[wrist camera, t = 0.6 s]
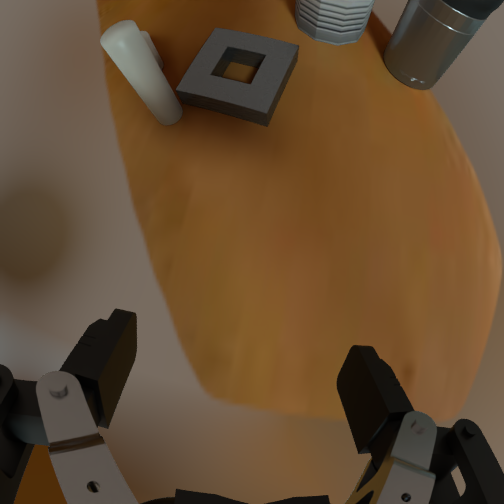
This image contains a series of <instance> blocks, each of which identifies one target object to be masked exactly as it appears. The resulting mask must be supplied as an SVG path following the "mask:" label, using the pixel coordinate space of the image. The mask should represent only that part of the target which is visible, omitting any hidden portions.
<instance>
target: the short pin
mask: <svg viewBox="0 0 504 504" xmlns="http://www.w3.org/2000/svg"><path fill="white" fill-rule="evenodd" d="M140 32H141V34H142V36H143V38H144V40H145V41H146V43H147V45H148V47H149V49H150V50H151V52H152V54H153V56H154V58H155V60H156V61H157V63H158V65H159V67H160V69H161V70H162V68H163V65H164V64H163V61H162V59H161V57H160V56H159V54H158V52H157V50H156V48H155V46H154V44H153V42H152V40H151V38H150V36H149V34H148V33H147V32H145V31H140Z"/></svg>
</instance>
